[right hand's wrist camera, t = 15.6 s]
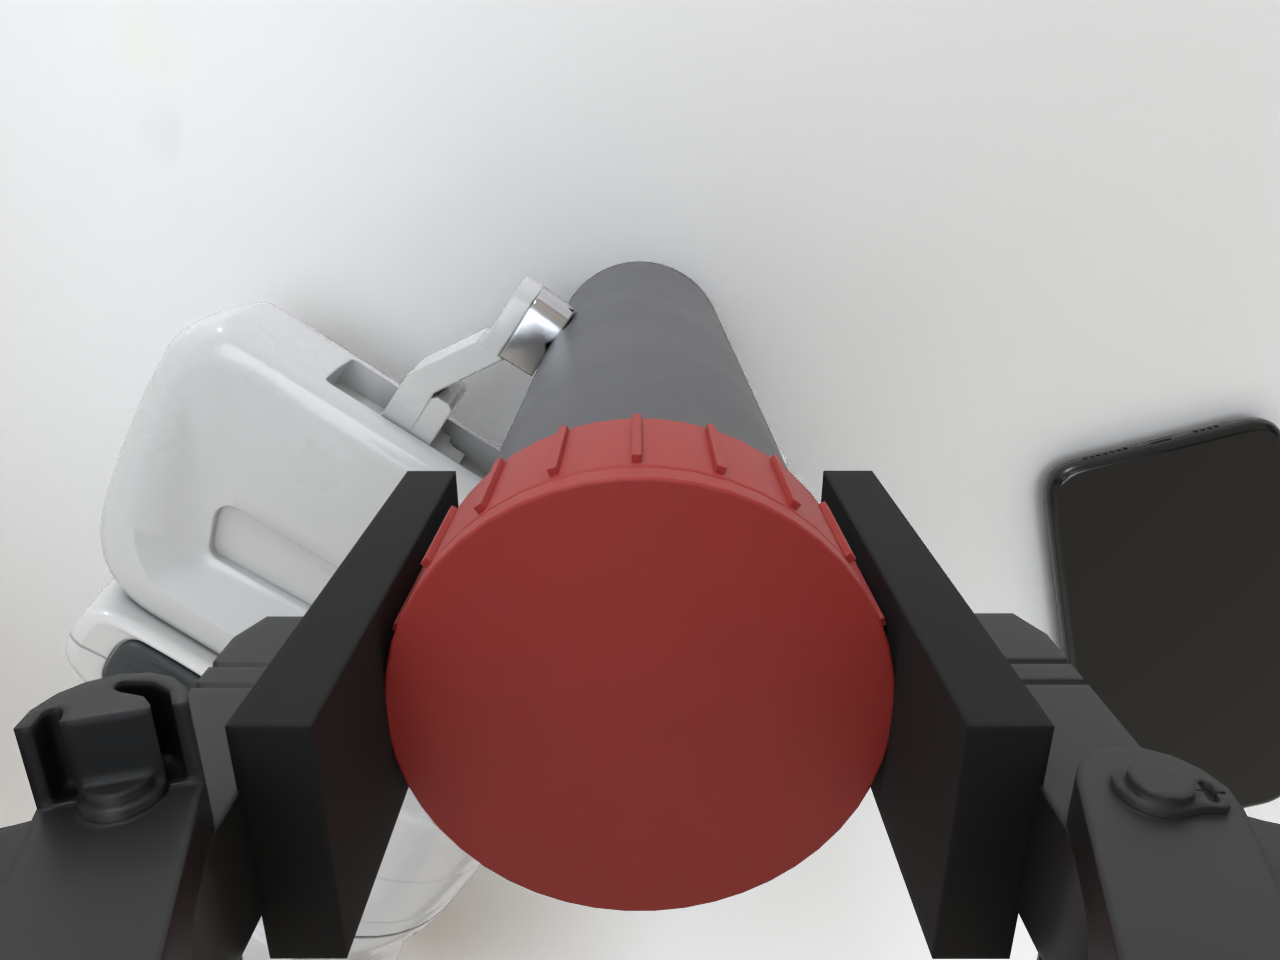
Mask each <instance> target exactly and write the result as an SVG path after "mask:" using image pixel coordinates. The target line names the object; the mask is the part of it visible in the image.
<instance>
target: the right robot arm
mask: <svg viewBox="0 0 1280 960" xmlns="http://www.w3.org/2000/svg"><path fill="white" fill-rule="evenodd" d="M823 501H825V502H826V504H827V505H828V507H829V508H830V510H831V512H832V514H833V516H834V518H835V520H836V522H837V524H838V526H839V527H840V529H841V531H842V533H843V535H844V537H845V539H846V541H847V543H848V544H849V546H850V548H851V550H852V552H853V554H854V556H855V558H856V560H855V562H856V564H857V566H858V568H859V570H860V572H861V574H862V575H863V577H864V579H865V581H866V583H867V585H868V587H869V589H870V591H871V593H872V595H873V597H874V598H875V600H876V602H877V604H878V606H879V608H880V610H881V612H882V614H883V616H884V618H885V621H886V625H884V626H883V628H884V631H885V634H886V636H887V639H888V642H889V646H890V651H891V656H892V662H893V667H894V672H895V689H894V699H893V708H892V716H891V725H890V733H889V740H888V746H887V749H886V753H885V756H884V759H883V761H882V764H881V766H880V768H879V770H878V773H877V775H876V777H875V779H874V782H873V784H872V785H871V789H872V792H873V795H874V798H875V800H876V803H877V806H878V809H879V812H880V814H881V817H882V820H883V823H884V825H885V828H886V831H887V834H888V837H889V839H890V842H891V845H892V848H893V850H894V853H895V856H896V859H897V862H898V864H899V867H900V870H901V873H902V875H903V878H904V881H905V884H906V886H907V889H908V892H909V895H910V898H911V900H912V903H913V906H914V909H915V911H916V914H917V917H918V920H919V923H920V925H921V928H922V931H923V934H924V936H925V939H926V942H927V945H928V948H929V950H930V953H931V956H932V959H1009V958H1010V953H1011V948H1012V943H1013V938H1014V933H1015V928H1016V922H1017V917H1018V913H1019V915H1020V917H1021V919H1022V921H1023V923H1024V925H1025V927H1026V929H1027V931H1028V933H1029V935H1030V937H1031V939H1032V941H1033V943H1034V945H1035V947H1036V949H1037V951H1038V956H1037V960H1280V824H1276V823H1272V822H1267V821H1263V820H1259V819H1255V818H1252V817H1248V816H1247V815H1246V813H1245V811H1244V809H1243V807H1242V806H1241V804H1240V803H1239V802H1238V801H1237V799H1236V798H1235V797H1234V795H1233V794H1232V793H1231V791H1230V790H1229V789H1228V788H1227V787H1226V786H1224V785H1223V784H1222V783H1220V782H1219V781H1218V780H1216V779H1215V778H1214V777H1212V776H1211V775H1209V774H1208V773H1207V772H1205V771H1204V770H1202V769H1200V768H1198V767H1196V766H1194V765H1192V764H1190V763H1187V762H1185V761H1183V760H1181V759H1179V758H1177V757H1174V756H1172V755H1168V754H1164V753H1160V752H1157V751H1153V750H1149V749H1145V748H1141V747H1140V746H1139V745H1138V743H1137V742H1136V741H1135V740H1134V739H1133V737H1132V736H1131V735H1130V734H1129V733H1128V731H1127V730H1126V729H1125V728H1124V727H1123V725H1122V724H1121V723H1120V722H1119V721H1118V719H1117V718H1116V717H1115V716H1114V715H1113V713H1112V712H1111V711H1110V710H1109V709H1108V707H1107V706H1106V705H1105V704H1104V703H1103V701H1102V700H1101V699H1100V698H1099V697H1098V695H1097V694H1096V693H1095V692H1094V691H1093V689H1092V688H1091V687H1090V686H1089V685H1085V684H1084V679H1083V677H1082V676H1081V675H1080V674H1079V673H1078V671H1077V670H1076V669H1075V668H1074V667H1073V665H1072V664H1068V663H1067V658H1066V657H1065V656H1064V655H1063V653H1062V652H1061V651H1060V650H1059V649H1058V647H1057V646H1056V645H1055V644H1054V643H1053V641H1052V640H1051V639H1050V638H1049V637H1048V635H1047V634H1045V633H1043V632H1042V631H1040V630H1039V629H1037V628H1035V627H1034V626H1032V625H1031V624H1029V623H1027V622H1026V621H1024V620H1022V619H1021V618H1019V617H1018V616H1016V615H1014V614H974V613H973V611H972V610H971V609H970V607H969V606H968V604H967V603H966V602H965V600H964V599H963V597H962V596H961V595H960V593H959V592H958V590H957V589H956V588H955V586H954V585H953V584H952V582H951V581H950V579H949V578H948V577H947V575H946V574H945V572H944V571H943V570H942V568H941V567H940V565H939V564H938V563H937V561H936V560H935V558H934V557H933V556H932V554H931V553H930V551H929V550H928V549H927V547H926V546H925V544H924V543H923V542H922V540H921V539H920V537H919V536H918V535H917V533H916V532H915V530H914V529H913V528H912V526H911V525H910V523H909V522H908V521H907V519H906V518H905V516H904V515H903V514H902V512H901V511H900V509H899V508H898V507H897V505H896V504H895V503H894V501H893V500H892V498H891V497H890V496H889V494H888V493H887V491H886V490H885V489H884V487H883V486H882V484H881V483H880V482H879V480H878V479H877V477H876V476H875V475H874V473H873V472H872V471H824V472H823V485H822V498H821V503H822V502H823ZM452 505H453V506H454V507H456V508H458V507H459V505H458V492H457V480H456V471H407V472H406V474H405V475H404V477H403V478H402V479H401V481H400V482H399V484H398V485H397V486H396V488H395V489H394V491H393V492H392V493H391V495H390V496H389V498H388V499H387V500H386V502H385V503H384V505H383V506H382V507H381V509H380V510H379V512H378V513H377V514H376V516H375V517H374V518H373V520H372V521H371V523H370V524H369V525H368V527H367V528H366V530H365V531H364V532H363V534H362V535H361V537H360V538H359V539H358V541H357V542H356V544H355V545H354V546H353V548H352V549H351V551H350V552H349V553H348V555H347V556H346V558H345V559H344V560H343V562H342V563H341V565H340V566H339V567H338V569H337V570H336V572H335V573H334V574H333V576H332V577H331V579H330V580H329V581H328V583H327V584H326V586H325V587H324V588H323V590H322V591H321V592H320V594H319V595H318V597H317V598H316V599H315V601H314V602H313V604H312V605H311V606H310V608H309V609H308V611H307V612H306V613H305V615H304V616H267V617H265V618H264V619H262V620H261V621H259V622H257V623H256V624H254V625H253V626H251V627H249V628H248V629H246V630H245V631H243V632H241V633H240V634H238V635H237V636H235V637H233V638H232V640H231V641H230V642H229V643H228V644H227V646H226V647H225V648H224V649H223V651H222V652H221V653H220V654H219V655H218V657H217V658H216V659H215V660H214V661H213V667H208V669H207V670H206V671H205V672H204V673H203V675H202V676H201V677H200V678H199V679H198V681H197V682H196V687H195V688H191V689H190V690H189V692H188V693H187V689H186V687H185V686H184V685H183V684H181V683H180V682H179V681H177V680H176V679H175V678H174V677H171V676H166V675H161V674H156V673H151V672H148V673H128V674H118V675H114V676H109V677H105V678H101V679H96V680H92V681H88V682H85V683H83V684H80V685H78V686H75V687H73V688H70V689H68V690H65V691H63V692H60V693H58V694H56V695H54V696H53V697H51V698H50V699H48V700H46V701H45V702H43V703H42V704H40V705H38V706H37V707H35V708H34V709H32V710H30V711H29V713H28V714H27V715H26V716H25V717H24V718H23V719H22V720H21V721H20V722H19V723H18V724H17V726H16V727H15V728H14V732H15V736H16V739H17V742H18V746H19V749H20V753H21V756H22V759H23V763H24V766H25V770H26V773H27V776H28V780H29V783H30V786H31V790H32V793H33V797H34V800H35V803H36V807H37V810H36V812H35V814H34V816H33V819H32V821H28V822H25V823H21V824H17V825H13V826H8V827H3V828H0V960H243V956H242V955H243V953H244V951H245V949H246V947H247V945H248V942H249V940H250V938H251V936H252V934H253V932H254V930H255V928H256V926H257V924H258V922H259V920H260V918H261V916H262V920H263V925H264V930H265V935H266V941H267V946H268V951H269V956H270V959H347V957H348V954H349V952H350V949H351V946H352V943H353V941H354V938H355V935H356V932H357V929H358V927H359V924H360V921H361V918H362V916H363V913H364V910H365V907H366V904H367V902H368V899H369V896H370V893H371V891H372V888H373V885H374V882H375V879H376V877H377V874H378V871H379V868H380V866H381V863H382V860H383V857H384V854H385V852H386V849H387V846H388V843H389V841H390V838H391V835H392V832H393V830H394V827H395V824H396V821H397V818H398V816H399V813H400V810H401V807H402V805H403V802H404V799H405V796H406V793H407V791H408V788H409V786H408V784H407V783H406V780H405V778H404V776H403V774H402V771H401V769H400V767H399V764H398V762H397V760H396V758H395V754H394V751H393V747H392V743H391V738H390V731H389V722H388V714H387V705H386V695H385V670H386V665H387V660H388V655H389V650H390V645H391V641H392V639H393V636H394V633H395V631H393V630H392V628H393V624H394V621H395V620H396V618H397V616H398V614H399V612H400V610H401V608H402V606H403V604H404V602H405V600H406V598H407V596H408V594H409V592H410V590H411V589H412V587H413V585H414V583H415V581H416V579H417V577H418V575H419V573H420V571H421V569H422V567H423V566H422V565H421V562H422V560H423V558H424V556H425V554H426V552H427V550H428V548H429V546H430V545H431V543H432V541H433V539H434V537H435V535H436V533H437V531H438V529H439V527H440V526H441V524H442V522H443V520H444V518H445V516H446V514H447V512H448V510H449V509H450V508H451V506H452Z"/></svg>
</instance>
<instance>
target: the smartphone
mask: <svg viewBox="0 0 1280 960" xmlns="http://www.w3.org/2000/svg"><path fill="white" fill-rule="evenodd" d="M1044 504H1045V512H1046V521H1047V529H1048V537H1049V546H1050V554H1051V562H1052V570H1053V579H1054V587H1055V595H1056V604H1057V612H1058V620H1059V628H1060V637H1061V645H1062V653H1063V655H1064V656H1065V657H1066V658H1067V663H1068V664H1072V665H1073V667H1074V668H1075V669H1076V670H1077V671H1078V673H1079V674H1080V675H1081V676H1082V677H1083V679H1084V684H1085V685H1089V686H1090V687H1091V688H1092V689H1093V691H1094V692H1095V693H1096V694H1097V695H1098V697H1099V698H1100V699H1101V700H1102V701H1103V703H1104V704H1105V705H1106V706H1107V707H1108V709H1109V710H1110V711H1111V712H1112V713H1113V715H1114V716H1115V717H1116V718H1117V719H1118V721H1119V722H1120V723H1121V724H1122V725H1123V727H1124V728H1125V729H1126V730H1127V731H1128V733H1129V734H1130V735H1131V736H1132V737H1133V739H1134V740H1135V741H1136V742H1137V743H1138V745H1139V746H1140V747H1141V748H1145V749H1149V750H1153V751H1157V752H1160V753H1164V754H1168V755H1172V756H1174V757H1177V758H1179V759H1181V760H1183V761H1185V762H1187V763H1190V764H1192V765H1194V766H1196V767H1198V768H1200V769H1202V770H1204V771H1205V772H1207V773H1208V774H1209V775H1211V776H1212V777H1214V778H1215V779H1216V780H1218V781H1219V782H1220V783H1222V784H1223V785H1224V786H1226V787H1227V788H1228V789H1229V790H1230V791H1231V793H1232V794H1233V795H1234V797H1235V798H1236V799H1237V801H1238V802H1239V803H1240V804H1241V806H1242V807H1243V808H1245V807H1250V806H1255V805H1260V804H1264V803H1268V802H1270V801H1273V800H1275V799H1277V798H1279V797H1280V429H1279V428H1278V427H1277V426H1276V425H1275V424H1274V423H1272V422H1270V421H1268V420H1266V419H1262V418H1244V419H1239V420H1235V421H1231V422H1227V423H1222V424H1218V425H1214V426H1210V427H1206V428H1201V429H1197V430H1193V431H1189V432H1185V433H1181V434H1177V435H1173V436H1168V437H1164V438H1160V439H1156V440H1152V441H1148V442H1144V443H1140V444H1136V445H1131V446H1127V447H1123V448H1119V449H1115V450H1111V451H1107V452H1103V453H1099V454H1095V455H1091V456H1087V457H1083V458H1079V459H1075V460H1072V461H1069V462H1066V463H1064V464H1062V465H1060V466H1059V467H1057V468H1056V469H1055V470H1054V471H1053V472H1052V473H1051V474H1050V475H1049V477H1048V479H1047V481H1046V484H1045V488H1044Z"/></svg>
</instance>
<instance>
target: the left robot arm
mask: <svg viewBox="0 0 1280 960" xmlns="http://www.w3.org/2000/svg"><path fill="white" fill-rule="evenodd" d="M542 288H543V289H542ZM574 309H575V308H574V307H572V306H571V305H569V304H568V303H567V302H565V301H564V300H562V299H561V298H560V297H558V296H557V295H555V294H554V293H553V292H551V291H550V290H548V289H547V288H546V287H543V285H542V284H540V283H539V282H537V281H536V280H534V279H532V278H531V277H529V276H528V275H527V276H526V277H525V278H524V279H523V281H522V282H521V283H520V285H519V286H518V288H517V289H516V290H515V292H514V293H513V295H512V296H511V298H510V299H509V301H508V302H507V304H506V305H505V307H504V308H503V310H502V312H501V313H500V315H499V316H498V318H497V319H496V321H495V323H494V324H493V326H492V327H491V329H490V328H488V327H487V328H485V329H483V330H481V331H479V332H477V333H475V334H473V335H471V336H469V337H467V338H464V339H462V340H460V341H458V342H456V343H454V344H452V345H450V346H448V347H446V348H444V349H441V350H439V351H437V352H435V353H433V354H431V355H429V356H427V357H425V358H424V359H423V360H422V361H421V362H420V363H419V364H418V365H417V366H416V367H415V368H414V369H413V370H412V371H411V372H409V373H408V374H407V375H406V377H405V378H404V380H403V381H402V383H401V385H400V384H398V383H397V382H395V381H394V380H392V379H390V378H389V377H387V376H386V375H384V374H383V373H381V372H379V371H378V370H376V369H375V368H373V367H372V366H370V365H368V364H367V363H365V362H364V361H362V360H361V359H359V358H358V357H356V356H354V355H353V354H351V353H350V352H348V351H347V350H345V349H343V348H342V347H340V346H339V345H337V344H336V343H334V342H332V341H331V340H329V339H328V338H326V337H325V336H323V335H321V334H320V333H318V332H317V331H315V330H314V329H312V328H310V327H309V326H307V325H306V324H304V323H303V322H301V321H300V320H298V319H296V318H295V317H293V316H292V315H290V314H289V313H287V312H286V311H284V310H282V309H281V308H279V307H277V306H275V305H273V304H270V303H255V304H250V305H246V306H241V307H236V308H232V309H228V310H225V311H222V312H218V313H215V314H213V315H210V316H207V317H205V318H203V319H201V320H199V321H197V322H195V323H193V324H192V325H190V326H189V327H187V328H185V329H184V330H183V331H182V332H180V333H179V334H178V335H177V336H176V337H175V338H174V339H173V341H172V342H171V343H170V344H169V346H168V347H167V348H166V350H165V352H164V354H163V356H162V357H161V359H160V361H159V363H158V365H157V367H156V368H155V370H154V373H153V375H152V377H151V379H150V381H149V383H148V385H147V387H146V389H145V392H144V394H143V396H142V398H141V401H140V403H139V405H138V407H137V410H136V412H135V415H134V417H133V420H132V422H131V425H130V427H129V430H128V432H127V435H126V438H125V440H124V443H123V446H122V449H121V451H120V454H119V457H118V460H117V463H116V466H115V469H114V472H113V476H112V479H111V482H110V485H109V489H108V492H107V495H106V499H105V502H104V507H103V513H102V520H101V542H102V549H103V553H104V557H105V560H106V563H107V566H108V568H109V570H110V572H111V574H112V575H113V577H114V579H113V580H112V581H111V582H110V583H109V584H108V585H107V586H106V587H105V588H104V589H103V590H102V591H101V592H100V594H99V595H98V596H97V597H96V598H95V600H94V601H93V602H92V603H91V604H90V606H89V607H88V608H87V609H86V610H85V612H84V613H83V614H82V615H81V617H80V618H79V619H78V621H77V622H76V624H75V625H74V627H73V629H72V630H71V632H70V634H69V636H68V639H67V642H66V648H65V649H66V656H67V659H68V661H69V663H70V665H71V666H72V668H73V669H74V670H75V672H76V673H77V674H78V675H79V676H80V677H81V678H82V679H83V680H84V681H85V682H88V681H92V680H96V679H101V678H105V677H109V676H114V675H118V674H128V673H148V672H151V673H156V674H161V675H166V676H171V677H174V678H175V679H176V680H177V681H179V682H180V683H181V684H183V685H184V686H185V687H186V689H187V693H188V692H189V690H190V689H191V688H195V687H196V682H197V681H198V679H199V678H200V677H201V676H202V675H203V673H204V672H205V671H206V670H207V669H208V667H213V661H214V660H215V659H216V658H217V657H218V655H219V654H220V653H221V652H222V651H223V649H224V648H225V647H226V646H227V644H228V643H229V642H230V641H231V640H232V638H233V637H235V636H237V635H238V634H240V633H241V632H243V631H245V630H246V629H248V628H249V627H251V626H253V625H254V624H256V623H257V622H259V621H261V620H262V619H264V618H265V617H267V616H304V615H305V613H306V612H307V611H308V609H309V608H310V606H311V605H312V604H313V602H314V601H315V599H316V598H317V597H318V595H319V594H320V592H321V591H322V590H323V588H324V587H325V586H326V584H327V583H328V581H329V580H330V579H331V577H332V576H333V574H334V573H335V572H336V570H337V569H338V567H339V566H340V565H341V563H342V562H343V560H344V559H345V558H346V556H347V555H348V553H349V552H350V551H351V549H352V548H353V546H354V545H355V544H356V542H357V541H358V539H359V538H360V537H361V535H362V534H363V532H364V531H365V530H366V528H367V527H368V525H369V524H370V523H371V521H372V520H373V518H374V517H375V516H376V514H377V513H378V512H379V510H380V509H381V507H382V506H383V505H384V503H385V502H386V500H387V499H388V498H389V496H390V495H391V493H392V492H393V491H394V489H395V488H396V486H397V485H398V484H399V482H400V481H401V479H402V478H403V477H404V475H405V474H406V472H407V471H456V480H457V492H458V505H459V506H460V504H461V503H462V502H463V500H464V499H465V498H466V496H467V495H468V494H469V493H470V491H471V490H472V489H473V488H474V487H475V486H476V485H477V484H478V483H479V482H480V481H481V480H482V479H483V478H484V477H485V476H486V475H487V474H488V473H489V472H490V471H491V469H492V467H493V465H494V462H495V461H496V459H497V457H498V455H499V453H500V450H501V449H500V448H499V447H497V446H496V445H494V444H492V443H491V442H489V441H488V440H486V439H485V438H483V437H481V436H480V435H478V434H477V433H475V432H474V431H472V430H470V429H469V428H467V427H466V426H464V425H463V424H461V423H459V422H458V421H456V420H455V419H453V418H452V417H450V415H451V414H452V412H453V411H454V409H455V407H456V406H457V404H458V403H459V401H460V399H461V398H462V396H463V394H464V393H465V391H466V386H465V384H463V383H462V382H460V380H462V379H464V378H466V377H468V376H470V375H472V374H474V373H476V372H478V371H480V370H482V369H484V368H487V367H489V366H491V365H493V364H495V363H497V362H499V361H501V360H503V358H504V359H505V360H507V361H508V362H510V363H512V364H513V365H515V366H516V367H518V368H520V369H521V370H523V371H524V372H526V373H527V374H529V375H531V376H532V375H533V373H534V372H535V370H536V369H537V367H538V366H539V364H540V363H541V361H542V359H543V357H544V355H545V353H546V351H547V349H548V347H549V344H550V342H551V341H554V340H555V338H556V337H557V336H558V335H559V334H560V332H561V331H562V330H563V329H564V327H565V326H566V324H567V322H568V321H569V319H570V317H571V316H572V314H573V313H572V312H573V311H574ZM778 449H779V448H778ZM779 451H780V453H781V456H782V458H783V460H784V462H785V464H786V466H787V460H786V458H785V456H784V454H783V452H782V450H781V449H779ZM479 865H480V863H479V862H478V861H476V860H475V859H474V858H472V857H471V856H470V855H468V854H467V853H466V852H464V851H463V850H462V849H460V848H459V847H458V846H457V845H456V844H455V843H454V842H453V841H452V840H451V839H450V838H449V837H448V836H446V835H445V834H444V833H443V832H442V831H441V830H440V829H439V828H438V826H437V825H436V824H435V823H434V822H433V820H432V819H431V818H430V817H429V815H428V814H427V813H426V812H425V811H424V809H423V808H422V807H421V805H420V804H419V802H418V801H417V799H416V797H415V796H414V794H413V792H412V791H411V789H410V788H408V791H407V793H406V796H405V799H404V802H403V805H402V807H401V810H400V813H399V816H398V818H397V821H396V824H395V827H394V830H393V832H392V835H391V838H390V841H389V843H388V846H387V849H386V852H385V854H384V857H383V860H382V863H381V866H380V868H379V871H378V874H377V877H376V879H375V882H374V885H373V888H372V891H371V893H370V896H369V899H368V902H367V904H366V907H365V910H364V913H363V916H362V918H361V921H360V924H359V927H358V929H357V932H356V935H355V938H354V941H353V943H352V946H351V949H350V952H349V954H348V957H347V959H270V956H269V951H268V946H267V941H266V935H265V930H264V925H263V920H262V916H261V918H260V920H259V922H258V924H257V926H256V928H255V930H254V932H253V934H252V936H251V938H250V940H249V942H248V945H247V947H246V949H245V951H244V953H243V955H242V956H243V960H397V958H398V956H399V954H400V951H401V948H402V945H403V942H404V940H405V939H407V938H409V937H410V936H412V935H413V934H415V933H416V932H418V931H419V930H421V929H422V928H424V927H425V926H427V925H428V924H429V923H430V922H431V921H432V920H433V919H434V918H436V917H437V916H438V915H439V914H440V913H441V912H442V911H443V910H444V909H445V907H446V906H447V905H448V904H449V902H450V901H451V900H452V899H453V898H454V896H455V895H456V894H457V893H458V891H459V890H460V889H461V888H462V886H463V885H464V884H465V883H466V881H467V880H468V879H469V878H470V876H471V875H472V874H473V873H474V871H475V870H476V869H477V868H478V867H479Z"/></svg>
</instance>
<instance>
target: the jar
mask: <svg viewBox="0 0 1280 960" xmlns="http://www.w3.org/2000/svg"><path fill="white" fill-rule="evenodd" d="M568 304H569V305H571V306H572V307H574V308H575V309H574V311H573V312H572V313H573V314H572V316H571V317H570V319H569V321H568V322H567V324H566V326H565V327H564V329H563V330H562V331H561V332H560V334H559V335H558V336H557V337H556V338H555V340H554V341H551V342H550V344H549V347H548V349H547V351H546V353H545V355H544V357H543V359H542V361H541V363H540V365H539V368H538V370H537V372H536V374H535V376H534V379H533V381H532V383H531V385H530V387H529V389H528V392H527V394H526V396H525V398H524V400H523V402H522V405H521V407H520V409H519V411H518V413H517V416H516V418H515V420H514V422H513V424H512V426H511V429H510V431H509V433H508V435H507V437H506V440H505V442H504V444H503V446H502V448H501V450H500V453H499V455H498V457H497V459H499V458H500V457H502V458H503V459H504V461H505V460H507V459H508V458H509V457H511V456H512V455H514V454H515V453H517V452H519V451H521V450H522V449H524V448H526V447H528V446H530V445H531V444H533V443H535V442H537V441H539V440H541V439H544V438H546V437H549V436H551V435H554V434H556V433H557V432H558V429H559V427H561V426H564V425H567V427H568V429H571V428H575V427H578V426H582V425H586V424H590V423H594V422H601V421H609V420H617V419H632V415H633V414H641V419H663V420H671V421H678V422H686V423H690V424H694V425H697V426H701V427H705V428H706V425H707V423H709V424H712V425H715V427H716V430H717V431H718V432H721V433H723V434H726V435H728V436H731V437H733V438H736V439H738V440H741V441H743V442H745V443H747V444H748V445H750V446H752V447H754V448H755V449H757V450H759V451H761V452H762V453H764V454H766V455H768V456H769V457H770V458H771V456H772V455H773V454H775V455H777V456H778V457H780V459H781V461H782V463H783V465H784V468H785V469H786V470H788V469H787V466H786V464H785V462H784V460H783V458H782V456H781V453H780V451H779V449H778V447H777V445H776V443H775V440H774V438H773V436H772V434H771V432H770V430H769V427H768V425H767V423H766V421H765V419H764V417H763V414H762V412H761V410H760V408H759V406H758V403H757V401H756V399H755V397H754V395H753V393H752V390H751V388H750V386H749V384H748V382H747V380H746V377H745V375H744V373H743V371H742V369H741V367H740V364H739V362H738V360H737V358H736V356H735V353H734V351H733V349H732V347H731V345H730V343H729V340H728V338H727V336H726V334H725V332H724V330H723V327H722V325H721V323H720V321H719V319H718V317H717V314H716V312H715V310H714V308H713V306H712V304H711V302H710V301H709V299H708V297H707V296H706V295H705V293H704V292H703V291H702V290H701V289H700V287H699V286H698V285H696V284H695V283H694V282H693V281H692V280H691V279H690V278H688V277H687V276H685V275H684V274H682V273H680V272H678V271H676V270H674V269H672V268H670V267H667V266H664V265H661V264H656V263H651V262H628V263H623V264H619V265H615V266H612V267H610V268H607V269H605V270H603V271H601V272H599V273H597V274H596V275H594V276H593V277H591V278H590V279H588V280H587V281H586V282H585V283H584V284H583V285H582V286H581V287H580V288H579V289H578V290H577V291H576V293H575V294H574V295H573V297H572V298H571V300H570V301H569V303H568ZM497 459H496V460H497Z"/></svg>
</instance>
